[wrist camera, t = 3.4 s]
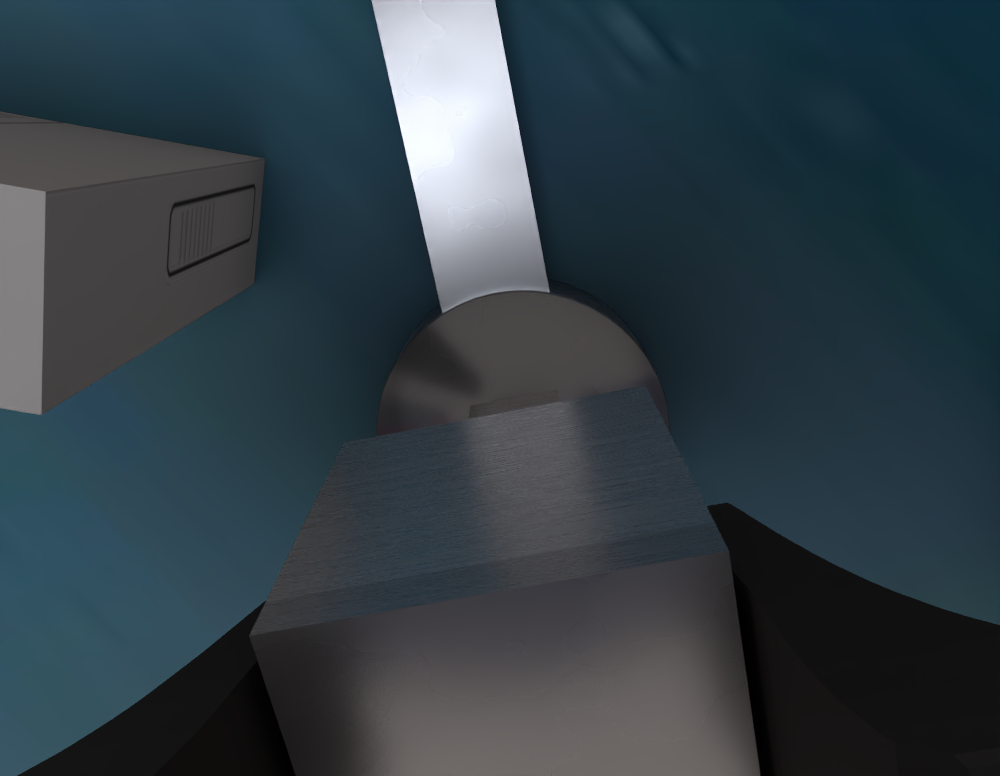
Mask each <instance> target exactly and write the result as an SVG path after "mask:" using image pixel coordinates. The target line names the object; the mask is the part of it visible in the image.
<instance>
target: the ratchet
mask: <svg viewBox="0 0 1000 776" xmlns="http://www.w3.org/2000/svg"><path fill="white" fill-rule="evenodd" d="M372 4H373V8H374V13H375V17H376V21H377V26H378V30H379V35H380V39H381V44H382V48H383V53H384V57H385V61H386V66H387V70H388V75H389V79H390V84H391V88H392V92H393V97H394V101H395V106H396V110H397V115H398V119H399V124H400V128H401V132H402V137H403V141H404V146H405V150H406V155H407V159H408V163H409V168H410V172H411V177H412V181H413V186H414V190H415V194H416V199H417V203H418V208H419V212H420V217H421V221H422V226H423V230H424V234H425V239H426V243H427V248H428V252H429V257H430V261H431V265H432V270H433V274H434V279H435V283H436V288H437V292H438V296H439V301H440V305H439V306H437V307H436V308H435V309H433V310H432V311H431V312H430V313H429V314H428V315H427V316H426V317H425V318H424V319H423V320H422V321H421V322H420V324H419V325H418V326H417V328H416V329H415V330H414V332H413V333H412V334H411V335H410V337H409V339H408V341H407V342H406V344H405V346H404V348H403V350H402V351H401V353H400V355H399V357H398V359H397V361H396V363H395V365H394V367H393V369H392V371H391V373H390V375H389V377H388V380H387V383H386V385H385V388H384V390H383V393H382V397H381V401H380V406H379V410H378V419H377V436H382V435H387V434H393V433H398V432H403V431H408V430H414V429H419V428H424V427H429V426H435V425H440V424H445V423H450V422H456V421H461V420H466V419H471V418H477V417H482V416H487V415H492V414H498V413H503V412H508V411H513V410H519V409H524V408H529V407H534V406H540V405H545V404H550V403H555V402H561V401H566V400H571V399H576V398H582V397H587V396H592V395H597V394H603V393H608V392H613V391H618V390H624V389H629V388H634V387H639V386H645V385H646V387H647V389H648V391H649V393H650V395H651V397H652V399H653V401H654V403H655V405H656V407H657V409H658V411H659V413H660V415H661V417H662V419H663V421H664V423H665V425H666V427H667V429H668V431H669V418H668V410H667V405H666V401H665V397H664V393H663V390H662V388H661V385H660V382H659V380H658V377H657V375H656V373H655V371H654V370H653V368H652V366H651V364H650V362H649V360H648V359H647V357H646V355H645V353H644V351H643V349H642V348H641V346H640V344H639V342H638V340H637V339H636V337H635V335H634V334H633V333H632V331H631V330H630V329H629V327H628V326H627V325H626V323H625V322H624V321H623V320H622V319H621V318H620V317H619V316H618V315H617V314H616V313H615V312H614V311H613V310H612V309H610V308H609V307H608V306H606V305H605V304H604V303H603V302H601V301H600V300H599V299H597V298H595V297H593V296H592V295H590V294H588V293H586V292H585V291H583V290H580V289H578V288H576V287H573V286H571V285H568V284H565V283H561V282H558V281H554V280H550V279H547V275H546V270H545V264H544V259H543V254H542V248H541V243H540V238H539V233H538V227H537V222H536V217H535V211H534V206H533V201H532V195H531V190H530V185H529V179H528V174H527V169H526V164H525V158H524V153H523V148H522V142H521V137H520V132H519V126H518V121H517V116H516V110H515V105H514V100H513V95H512V89H511V84H510V79H509V73H508V68H507V63H506V57H505V52H504V47H503V41H502V36H501V31H500V25H499V20H498V15H497V10H496V4H495V0H372Z"/></svg>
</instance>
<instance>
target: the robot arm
mask: <svg viewBox="0 0 1000 776" xmlns="http://www.w3.org/2000/svg"><path fill="white" fill-rule="evenodd" d="M707 508H708V510H709V512H710V514H711V516H712V518H713V520H714V522H715V524H716V526H717V528H718V530H719V532H720V534H721V536H722V538H723V540H724V542H725V544H726V546H727V548H728V550H729V554H730V561H731V568H732V575H733V583H734V590H735V597H736V604H737V611H738V618H739V626H740V633H741V640H742V647H743V654H744V661H745V668H746V676H747V683H748V690H749V697H750V704H751V711H752V718H753V726H754V733H755V740H756V747H757V754H758V761H759V768H760V776H1000V625H997V624H993V623H989V622H986V621H982V620H978V619H974V618H970V617H967V616H964V615H960V614H957V613H954V612H951V611H947V610H944V609H941V608H938V607H935V606H933V605H930V604H927V603H924V602H922V601H919V600H916V599H913V598H911V597H908V596H905V595H902V594H900V593H897V592H894V591H892V590H889V589H887V588H884V587H882V586H880V585H877V584H875V583H872V582H870V581H868V580H866V579H864V578H862V577H859V576H857V575H855V574H853V573H851V572H849V571H847V570H845V569H843V568H840V567H838V566H836V565H834V564H832V563H830V562H828V561H826V560H825V559H823V558H821V557H819V556H817V555H815V554H813V553H811V552H809V551H808V550H806V549H804V548H802V547H800V546H799V545H797V544H795V543H793V542H792V541H790V540H788V539H787V538H785V537H783V536H781V535H780V534H778V533H776V532H775V531H773V530H771V529H770V528H768V527H767V526H765V525H763V524H762V523H760V522H758V521H757V520H755V519H754V518H752V517H750V516H749V515H747V514H746V513H744V512H743V511H741V510H739V509H738V508H736V507H734V506H733V505H731V504H729V503H723V504H717V505H711V506H707ZM265 602H266V601H265ZM265 602H264V603H262V604H261V605H260V606H259V607H257V608H256V609H255V610H254V611H253V612H251V613H250V614H249V615H248V616H246V617H245V618H244V619H243V620H242V621H240V622H239V623H238V624H237V625H236V626H234V627H233V628H232V629H231V630H229V631H228V632H227V633H226V634H225V635H223V636H222V637H221V638H220V639H219V640H217V641H216V642H215V643H214V644H212V645H211V646H210V647H209V648H208V649H206V650H205V651H204V652H203V653H201V654H200V655H199V656H198V657H196V658H195V659H194V660H192V661H191V662H190V663H188V664H187V665H186V666H184V667H183V668H182V669H181V670H179V671H178V672H177V673H175V674H174V675H173V676H171V677H170V678H169V679H167V680H166V681H165V682H164V683H162V684H161V685H160V686H158V687H157V688H156V689H154V690H153V691H152V692H150V693H149V694H148V695H146V696H145V697H144V698H142V699H141V700H140V701H138V702H137V703H135V704H134V705H132V706H131V707H130V708H128V709H127V710H125V711H124V712H122V713H121V714H119V715H118V716H116V717H115V718H113V719H112V720H110V721H109V722H107V723H106V724H104V725H103V726H101V727H99V728H98V729H96V730H95V731H93V732H92V733H90V734H88V735H87V736H85V737H84V738H82V739H81V740H79V741H77V742H76V743H74V744H73V745H71V746H69V747H68V748H66V749H64V750H63V751H61V752H59V753H58V754H56V755H54V756H52V757H50V758H49V759H47V760H45V761H43V762H41V763H40V764H38V765H36V766H34V767H32V768H30V769H29V770H27V771H25V772H23V773H21V774H20V775H18V776H296V775H295V772H294V769H293V766H292V763H291V760H290V757H289V754H288V751H287V748H286V745H285V742H284V739H283V736H282V733H281V730H280V727H279V724H278V721H277V718H276V715H275V712H274V709H273V706H272V703H271V700H270V697H269V694H268V691H267V688H266V685H265V682H264V679H263V676H262V673H261V670H260V667H259V664H258V661H257V658H256V655H255V652H254V649H253V646H252V643H251V640H250V637H249V635H250V633H251V631H252V629H253V627H254V625H255V623H256V621H257V619H258V617H259V615H260V612H261V610H262V608H263V606H264V604H265Z"/></svg>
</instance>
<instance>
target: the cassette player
mask: <svg viewBox="0 0 1000 776" xmlns="http://www.w3.org/2000/svg"><path fill="white" fill-rule="evenodd" d="M264 167H265V158H259V157H253V156H248V155H242V154H237V153H231V152H225V151H220V150H214V149H208V148H203V147H197V146H192V145H186V144H180V143H175V142H169V141H163V140H158V139H152V138H147V137H141V136H135V135H130V134H124V133H118V132H113V131H107V130H102V129H96V128H90V127H85V126H79V125H73V124H68V123H62V122H57V121H51V120H45V119H40V118H34V117H28V116H23V115H17V114H12V113H6V112H0V408H3V409H9V410H15V411H21V412H27V413H33V414H39V415H42V414H44V413H45V412H47V411H49V410H50V409H52V408H53V407H55V406H57V405H58V404H60V403H62V402H63V401H65V400H66V399H68V398H70V397H71V396H73V395H75V394H76V393H78V392H79V391H81V390H83V389H84V388H86V387H88V386H89V385H91V384H92V383H94V382H96V381H97V380H99V379H101V378H102V377H104V376H105V375H107V374H109V373H110V372H112V371H114V370H115V369H117V368H118V367H120V366H122V365H123V364H125V363H127V362H128V361H130V360H131V359H133V358H135V357H136V356H138V355H140V354H141V353H143V352H145V351H146V350H148V349H149V348H151V347H153V346H154V345H156V344H158V343H159V342H161V341H162V340H164V339H166V338H167V337H169V336H171V335H172V334H174V333H175V332H177V331H179V330H180V329H182V328H184V327H185V326H187V325H188V324H190V323H192V322H193V321H195V320H197V319H198V318H200V317H201V316H203V315H205V314H206V313H208V312H210V311H211V310H213V309H214V308H216V307H218V306H219V305H221V304H223V303H224V302H226V301H227V300H229V299H231V298H232V297H234V296H236V295H237V294H239V293H240V292H242V291H244V290H245V289H247V288H249V287H250V286H252V285H253V284H254V277H255V266H256V255H257V244H258V233H259V222H260V211H261V200H262V189H263V178H264Z"/></svg>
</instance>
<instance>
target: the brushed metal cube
mask: <svg viewBox="0 0 1000 776" xmlns="http://www.w3.org/2000/svg"><path fill="white" fill-rule="evenodd" d="M249 637H250V640H251V643H252V646H253V649H254V652H255V655H256V658H257V661H258V664H259V667H260V670H261V673H262V676H263V679H264V682H265V685H266V688H267V691H268V694H269V697H270V700H271V703H272V706H273V709H274V712H275V715H276V718H277V721H278V724H279V727H280V730H281V733H282V736H283V739H284V742H285V745H286V748H287V751H288V754H289V757H290V760H291V763H292V766H293V769H294V772H295V775H296V776H760V768H759V761H758V754H757V747H756V740H755V733H754V726H753V718H752V711H751V704H750V697H749V690H748V683H747V676H746V668H745V661H744V654H743V647H742V640H741V633H740V626H739V618H738V611H737V604H736V597H735V590H734V583H733V575H732V568H731V561H730V554H729V550H728V548H727V546H726V544H725V542H724V540H723V538H722V536H721V534H720V532H719V530H718V528H717V526H716V524H715V522H714V520H713V518H712V516H711V514H710V512H709V510H708V508H707V506H706V504H705V502H704V500H703V498H702V496H701V494H700V492H699V490H698V488H697V486H696V484H695V482H694V481H693V479H692V477H691V475H690V473H689V471H688V469H687V467H686V465H685V463H684V461H683V459H682V457H681V455H680V453H679V451H678V449H677V447H676V445H675V443H674V441H673V439H672V437H671V435H670V433H669V431H668V429H667V427H666V425H665V423H664V421H663V419H662V417H661V415H660V413H659V411H658V409H657V407H656V405H655V403H654V401H653V399H652V397H651V395H650V393H649V391H648V389H647V387H646V385H645V386H639V387H634V388H629V389H624V390H618V391H613V392H608V393H603V394H597V395H592V396H587V397H582V398H576V399H571V400H566V401H561V402H555V403H550V404H545V405H540V406H534V407H529V408H524V409H519V410H513V411H508V412H503V413H498V414H492V415H487V416H482V417H477V418H471V419H466V420H461V421H456V422H450V423H445V424H440V425H435V426H429V427H424V428H419V429H414V430H408V431H403V432H398V433H393V434H387V435H382V436H377V437H372V438H366V439H361V440H356V441H351V442H345V443H343V445H342V447H341V449H340V451H339V453H338V455H337V457H336V459H335V461H334V463H333V465H332V467H331V469H330V471H329V474H328V476H327V478H326V480H325V482H324V484H323V486H322V488H321V490H320V492H319V494H318V496H317V498H316V500H315V502H314V504H313V506H312V508H311V510H310V512H309V514H308V516H307V518H306V521H305V523H304V525H303V527H302V529H301V531H300V533H299V535H298V537H297V539H296V541H295V543H294V545H293V547H292V549H291V551H290V553H289V555H288V557H287V559H286V561H285V563H284V565H283V568H282V570H281V572H280V574H279V576H278V578H277V580H276V582H275V584H274V586H273V588H272V590H271V592H270V594H269V596H268V598H267V600H266V602H265V604H264V606H263V608H262V610H261V612H260V615H259V617H258V619H257V621H256V623H255V625H254V627H253V629H252V631H251V633H250V635H249Z"/></svg>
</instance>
